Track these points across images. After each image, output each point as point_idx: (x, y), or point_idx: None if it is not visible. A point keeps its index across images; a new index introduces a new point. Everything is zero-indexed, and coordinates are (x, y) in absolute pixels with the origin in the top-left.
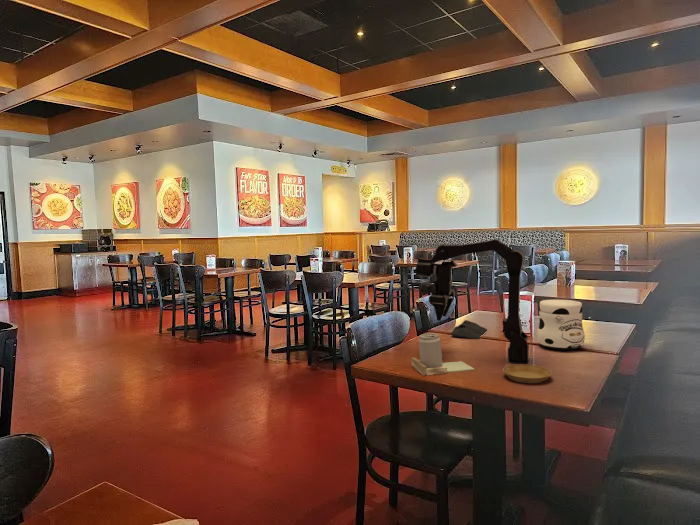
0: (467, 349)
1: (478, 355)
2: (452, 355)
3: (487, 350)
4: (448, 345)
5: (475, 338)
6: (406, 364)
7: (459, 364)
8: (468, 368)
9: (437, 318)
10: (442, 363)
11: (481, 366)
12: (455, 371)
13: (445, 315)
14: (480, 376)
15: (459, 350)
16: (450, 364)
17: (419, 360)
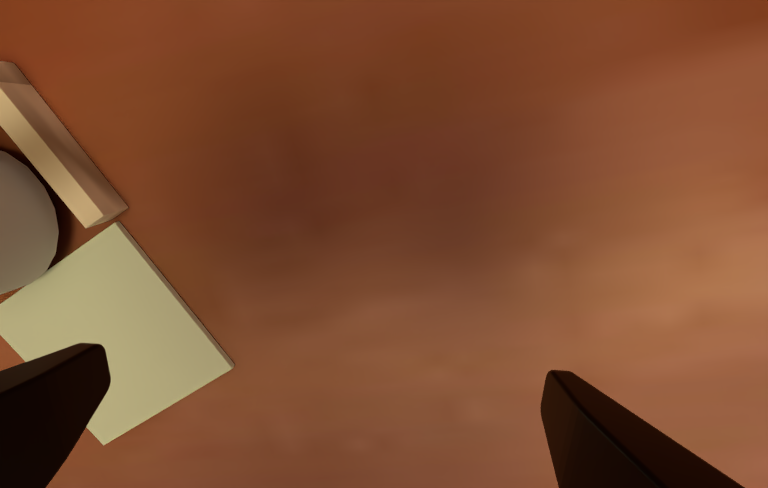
0: (574, 363)
1: (426, 438)
2: (386, 289)
3: None
4: (691, 217)
5: None
6: (40, 8)
7: (154, 364)
8: (95, 418)
9: (44, 368)
10: (136, 264)
11: (191, 467)
12: (28, 355)
13: (545, 424)
14: None
15: (537, 316)
16: (133, 315)
17: (8, 119)
